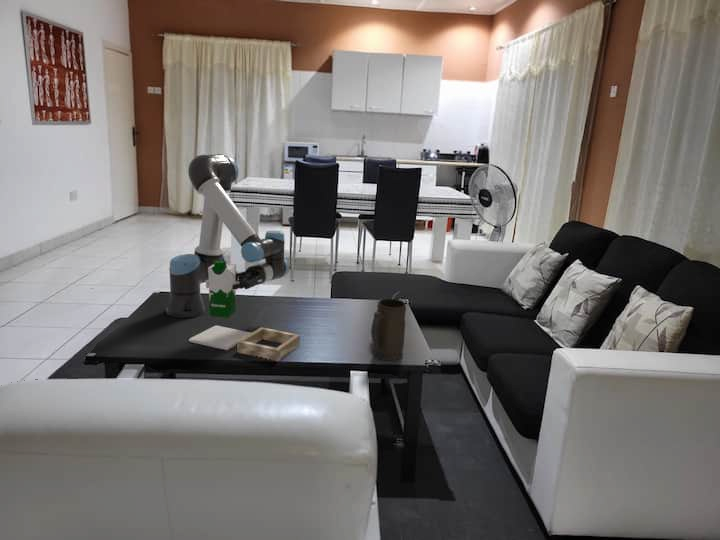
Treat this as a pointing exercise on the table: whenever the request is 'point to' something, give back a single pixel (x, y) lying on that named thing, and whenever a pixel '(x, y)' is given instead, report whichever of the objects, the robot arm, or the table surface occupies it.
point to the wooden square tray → (276, 354)
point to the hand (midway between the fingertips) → (215, 286)
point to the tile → (219, 337)
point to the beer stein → (389, 329)
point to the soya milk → (221, 289)
